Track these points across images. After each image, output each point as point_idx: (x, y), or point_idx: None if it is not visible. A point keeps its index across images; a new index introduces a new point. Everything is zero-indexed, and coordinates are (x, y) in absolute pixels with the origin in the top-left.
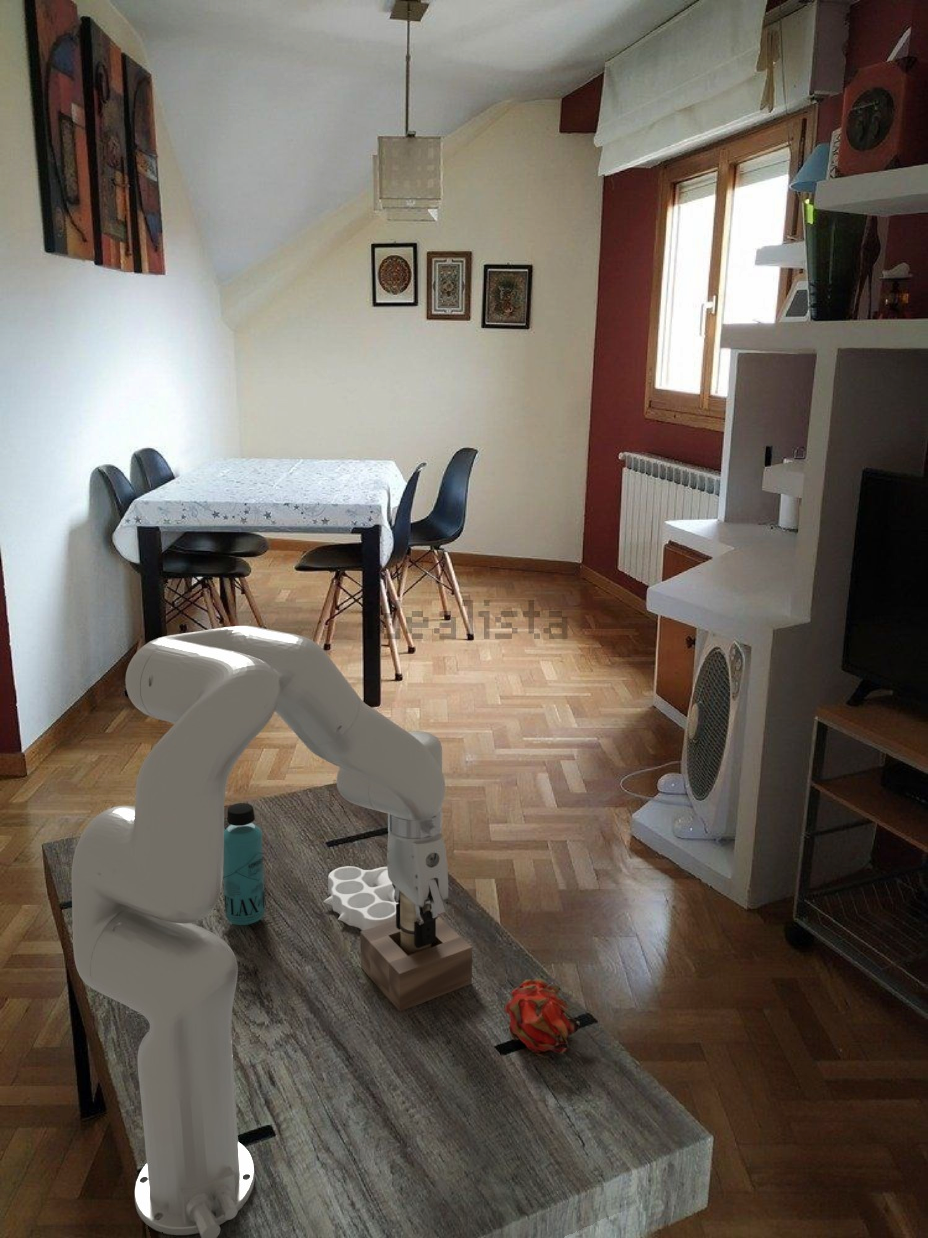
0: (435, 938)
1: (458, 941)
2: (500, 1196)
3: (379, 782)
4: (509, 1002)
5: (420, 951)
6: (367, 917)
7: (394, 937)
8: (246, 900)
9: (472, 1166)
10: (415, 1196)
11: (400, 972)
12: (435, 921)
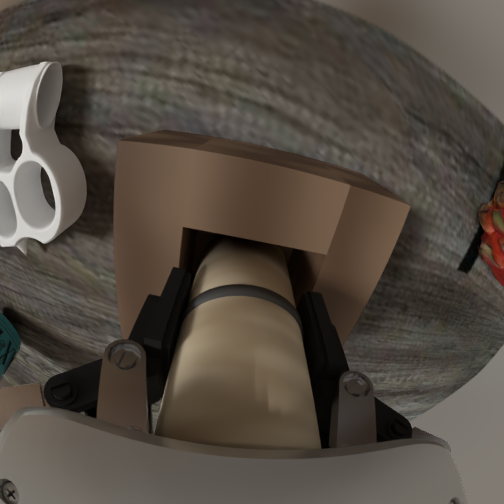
0: (321, 297)
1: (361, 212)
2: (483, 360)
3: None
4: (501, 267)
5: None
6: (44, 239)
7: None
8: (4, 365)
9: (465, 364)
10: (436, 396)
11: None
12: (339, 350)
